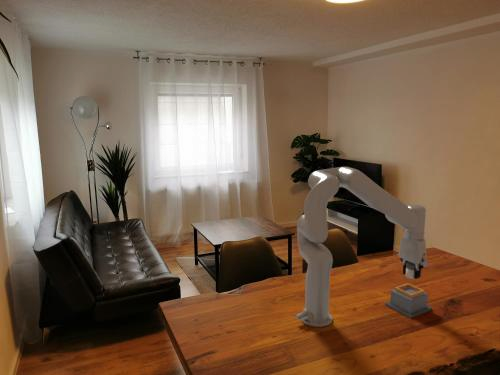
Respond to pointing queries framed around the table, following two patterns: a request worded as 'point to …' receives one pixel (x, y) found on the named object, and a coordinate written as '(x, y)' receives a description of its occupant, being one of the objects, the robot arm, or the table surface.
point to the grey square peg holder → (409, 300)
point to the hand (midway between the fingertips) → (411, 275)
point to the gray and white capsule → (410, 270)
